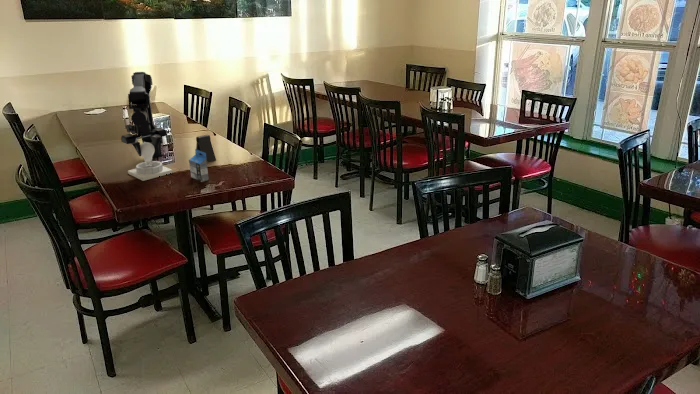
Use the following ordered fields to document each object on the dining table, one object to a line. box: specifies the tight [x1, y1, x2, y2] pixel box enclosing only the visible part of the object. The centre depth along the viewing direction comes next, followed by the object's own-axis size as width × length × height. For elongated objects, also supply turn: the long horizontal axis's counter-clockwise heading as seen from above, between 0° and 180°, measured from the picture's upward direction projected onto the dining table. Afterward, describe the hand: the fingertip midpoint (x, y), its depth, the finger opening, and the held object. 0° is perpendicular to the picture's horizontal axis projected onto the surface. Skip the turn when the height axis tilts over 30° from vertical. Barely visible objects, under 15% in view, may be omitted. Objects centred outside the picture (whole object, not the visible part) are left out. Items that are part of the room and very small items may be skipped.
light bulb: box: [140, 142, 155, 166], centre depth 227 cm, size 7×7×11 cm
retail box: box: [188, 148, 209, 183], centre depth 221 cm, size 9×4×12 cm, turn 47°
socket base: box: [127, 160, 173, 182], centre depth 230 cm, size 14×14×4 cm
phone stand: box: [195, 134, 217, 163], centre depth 247 cm, size 9×6×12 cm, turn 46°
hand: (147, 154), depth 227 cm, fingers closed on light bulb, 6 cm apart
